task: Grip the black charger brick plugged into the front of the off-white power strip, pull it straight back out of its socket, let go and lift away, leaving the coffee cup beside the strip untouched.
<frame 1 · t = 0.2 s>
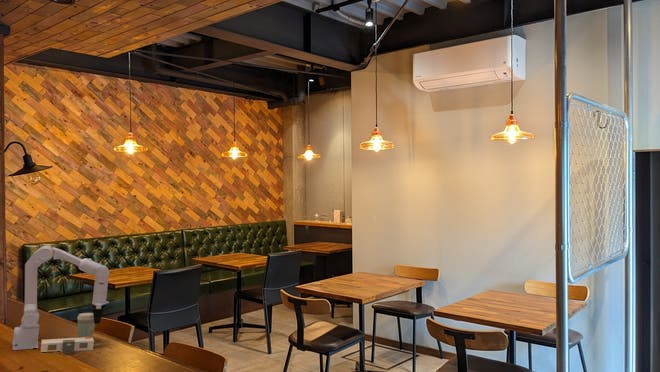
hand: (97, 321, 227), 10 cm above the table, tool pointing down, fingers open, 7 cm apart
power strip: (67, 349, 215), on the table
charger: (68, 346, 211), point 2 cm above the table, slide at 0.0 cm
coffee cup: (84, 340, 232), on the table
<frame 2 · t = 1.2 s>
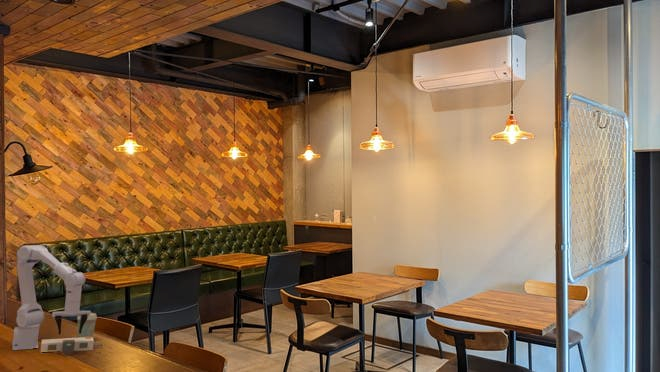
hand: (69, 333, 210), 8 cm above the table, tool pointing down, fingers open, 7 cm apart
nothing on the table moved.
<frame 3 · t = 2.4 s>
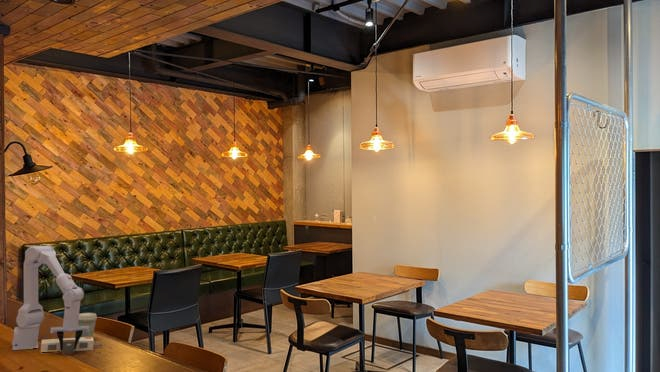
hand: (68, 349, 210), 2 cm above the table, tool pointing down, fingers closed on charger, 4 cm apart
charger: (68, 346, 211), point 2 cm above the table, slide at 0.0 cm, touching gripper
everything else where it was.
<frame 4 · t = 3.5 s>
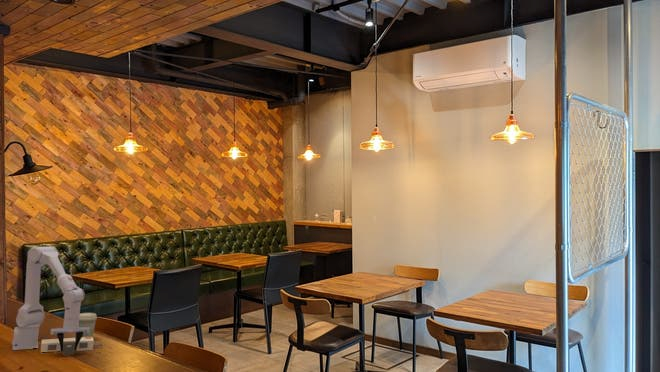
hand: (68, 350, 208), 2 cm above the table, tool pointing down, fingers closed on charger, 4 cm apart
charger: (68, 348, 208), point 2 cm above the table, slide at 2.6 cm, touching gripper
everything else where it was.
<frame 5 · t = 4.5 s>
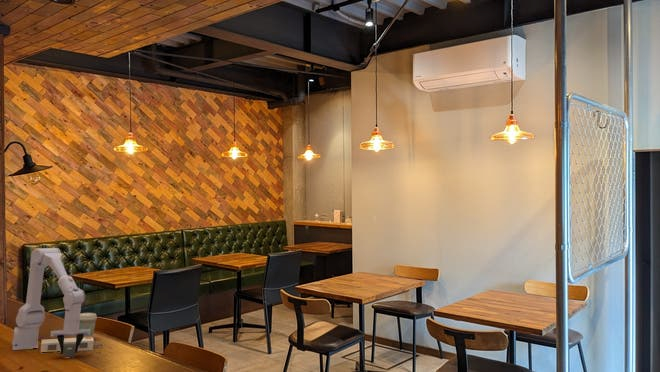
hand: (68, 353, 204), 2 cm above the table, tool pointing down, fingers closed on charger, 4 cm apart
charger: (68, 350, 205), point 2 cm above the table, slide at 6.5 cm, touching gripper
everything else where it was.
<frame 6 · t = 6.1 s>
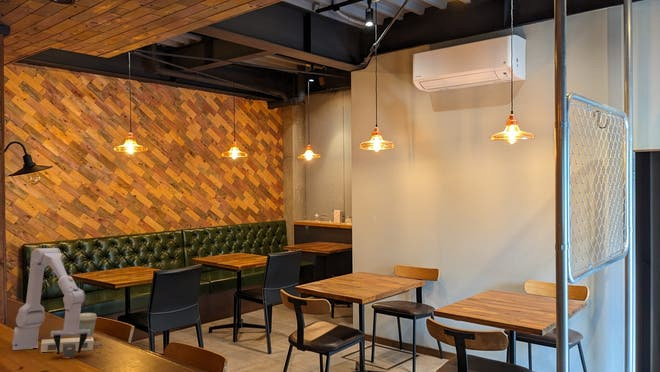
hand: (68, 353, 204), 2 cm above the table, tool pointing down, fingers open, 7 cm apart
charger: (68, 350, 205), point 2 cm above the table, slide at 6.5 cm
everything else where it was.
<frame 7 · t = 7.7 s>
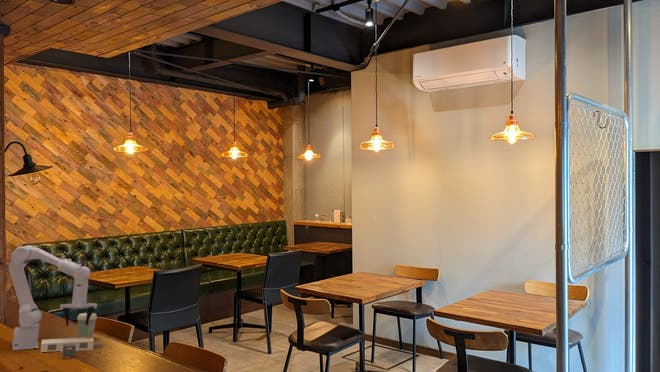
hand: (76, 325, 219), 10 cm above the table, tool pointing down, fingers open, 7 cm apart
nothing on the table moved.
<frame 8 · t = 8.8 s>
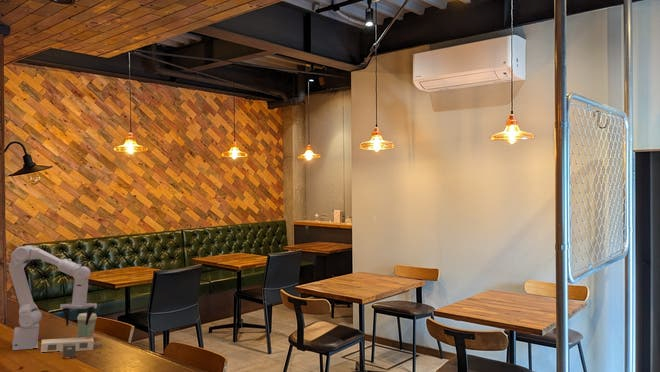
hand: (76, 325, 219), 10 cm above the table, tool pointing down, fingers open, 7 cm apart
nothing on the table moved.
at the end: charger slide at 6.5 cm; the gripper is holding nothing; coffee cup moved 0.2 cm from its start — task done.
